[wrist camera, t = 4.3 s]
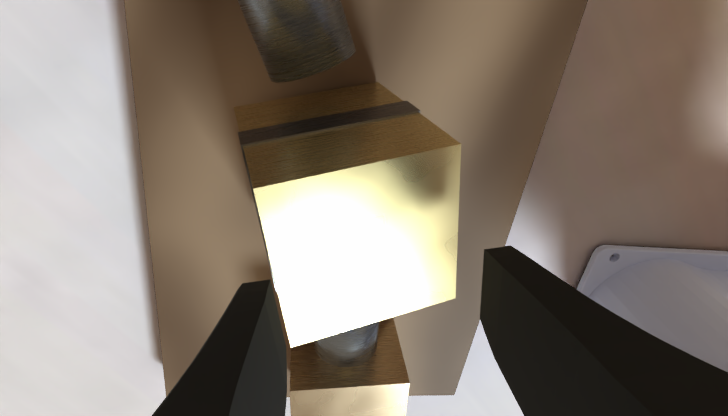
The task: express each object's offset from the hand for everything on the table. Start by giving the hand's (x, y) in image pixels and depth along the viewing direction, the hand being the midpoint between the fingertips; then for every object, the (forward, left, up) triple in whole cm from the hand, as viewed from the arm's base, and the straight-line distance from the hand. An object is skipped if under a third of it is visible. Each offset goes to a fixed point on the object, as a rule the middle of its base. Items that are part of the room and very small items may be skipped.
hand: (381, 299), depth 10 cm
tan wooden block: (+1, 0, -8) cm, 8 cm away
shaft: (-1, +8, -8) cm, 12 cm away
